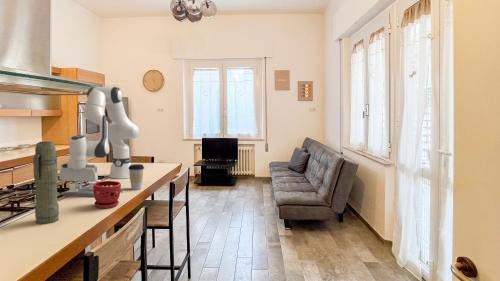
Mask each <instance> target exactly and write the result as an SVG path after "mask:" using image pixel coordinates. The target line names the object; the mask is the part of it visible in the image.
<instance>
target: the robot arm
mask: <svg viewBox="0 0 500 281" xmlns="http://www.w3.org/2000/svg"><path fill="white" fill-rule="evenodd" d="M86 97H87V99H86V101H85V106H84V111H83V114H84V116H85V118H86V119H87V120H88V121H90V122H91V123H94V124H96V125H98V126H99V139H98V140H88V139H87V138H86V136H85V135H78V134H77V135H73V136H71V137H70V138H69V139H70V140H69V144H68V145H69V146H68V147H69V148H68V149H69V150H68V151H69V161H67V162H63V163H61V164H60V166H59V167H60V169H59V171H58V180H60V181H63V182H64V181H67V182H70V181H71V182H73V183H75V184H76V186H77V189H81V188H82V186H83V184H84V182H93V181H96V180H99V177H98V166H97V165H95V164H88V157H90V158H98V159H99V158H100V159H104V158H105V157H107V156H108V155H109V153H110V148H111V147H110V144H111V146H112V160H111V161H112V164H111V165H110V171H109V174H108V175H107V177H108V178H111V179H121V180H123V179H130V171H129V169H128V168H129V167H130V165H133V164H132V163H131V160H132V156H130V146H129V145H128V144H127V143H124V140H130V139H131V140H133V139H137V137H139V135H140V129H139V126H138V125H137V124H135V123H133V122H132V121H131V120H130V118H128V116H127V113H126V110H125V108H124V103H123V99H124V98H123V97H124V94H123V91H122V90H121V88H120V87H117V86H94V87H90V88H89V89H88V90H87V91H86ZM106 111H107V115H108V116H106V114H105V112H106ZM109 120H110V121H111V123H109ZM123 139H124V140H123Z"/></svg>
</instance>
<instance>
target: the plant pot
mask: <svg viewBox="0 0 500 281" xmlns="http://www.w3.org/2000/svg"><path fill="white" fill-rule="evenodd" d="M97 191H98V192H97ZM121 191H122V183H121V182H119V181H116V180H115V181H114V180H101V181H100V182H96V183H94V184H93V193H94V197H93V198H94V200H95V201H94V203H93V205H94V206H95V207H97V208H100V209H110V208H114V207H116V206H118V205H119V204H120V203H119V202H120V201H119V198H120V195H121Z"/></svg>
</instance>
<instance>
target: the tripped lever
mask: <svg viewBox="0 0 500 281" xmlns="http://www.w3.org/2000/svg"><path fill="white" fill-rule="evenodd" d="M69 190H70V192H77V191H78V189H77V186H76V184H75V183H74V182H73V183H70V184H69Z"/></svg>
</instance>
